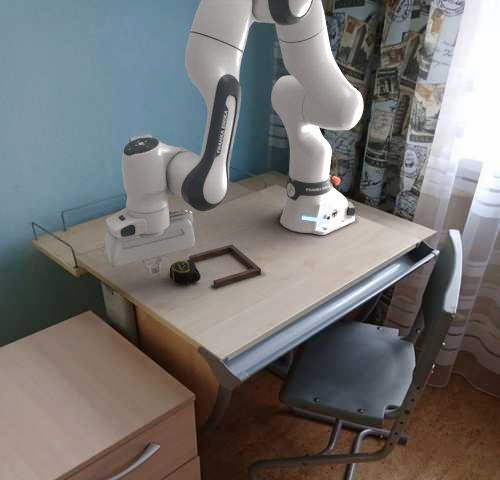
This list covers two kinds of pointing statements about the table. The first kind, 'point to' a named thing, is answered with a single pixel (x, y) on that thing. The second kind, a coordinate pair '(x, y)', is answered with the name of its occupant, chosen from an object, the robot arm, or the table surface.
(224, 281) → the bay
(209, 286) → the table surface
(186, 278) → the tape measure
